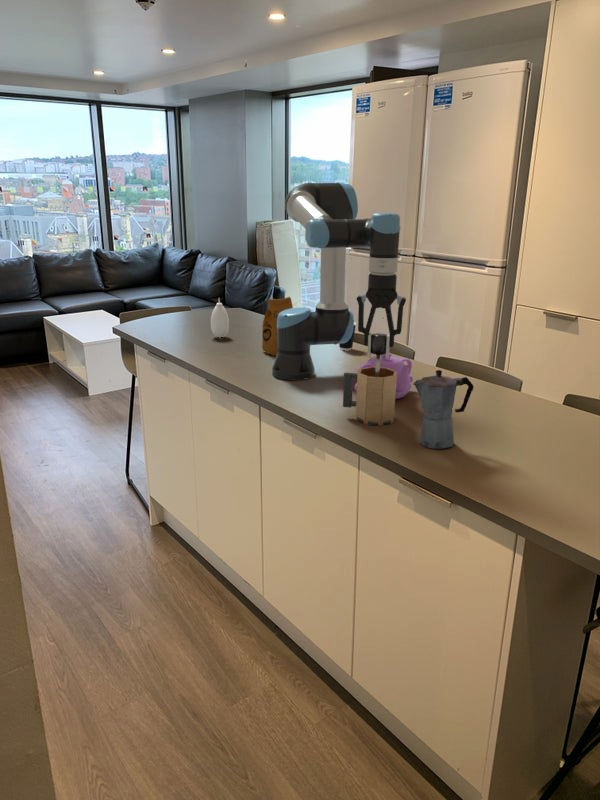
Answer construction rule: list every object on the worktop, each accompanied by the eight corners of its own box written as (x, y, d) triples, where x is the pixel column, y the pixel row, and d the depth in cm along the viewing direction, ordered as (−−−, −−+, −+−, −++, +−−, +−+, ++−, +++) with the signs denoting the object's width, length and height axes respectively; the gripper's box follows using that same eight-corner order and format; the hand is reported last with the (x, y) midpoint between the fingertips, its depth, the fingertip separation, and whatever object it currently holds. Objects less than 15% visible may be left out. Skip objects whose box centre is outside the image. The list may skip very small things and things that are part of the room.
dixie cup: (346, 346, 256) (347, 320, 252) (359, 349, 250) (360, 323, 247) (332, 348, 251) (333, 322, 248) (345, 352, 246) (346, 326, 242)
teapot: (378, 412, 181) (381, 367, 176) (341, 391, 199) (342, 350, 194) (436, 401, 191) (440, 359, 186) (395, 382, 209) (398, 343, 204)
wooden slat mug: (339, 422, 173) (341, 375, 168) (345, 409, 183) (347, 364, 178) (392, 427, 170) (395, 379, 165) (395, 413, 180) (398, 368, 175)
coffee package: (259, 351, 247) (258, 297, 239) (285, 347, 253) (285, 294, 246) (271, 356, 239) (270, 301, 232) (297, 352, 245) (298, 298, 238)
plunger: (361, 399, 171) (364, 337, 165) (364, 391, 178) (367, 331, 172) (388, 401, 169) (392, 339, 163) (390, 393, 176) (394, 332, 170)
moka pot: (404, 436, 163) (409, 365, 156) (460, 435, 164) (467, 364, 158) (413, 451, 154) (419, 376, 148) (472, 449, 155) (481, 375, 149)
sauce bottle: (232, 337, 269) (231, 296, 263) (221, 340, 263) (220, 299, 257) (219, 334, 273) (217, 295, 267) (207, 338, 267) (206, 297, 261)
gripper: (348, 273, 160) (345, 358, 168) (415, 276, 157) (408, 363, 164) (352, 270, 167) (349, 352, 175) (416, 272, 164) (410, 356, 171)
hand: (378, 357), depth 170 cm, fingers closed on plunger, 4 cm apart
